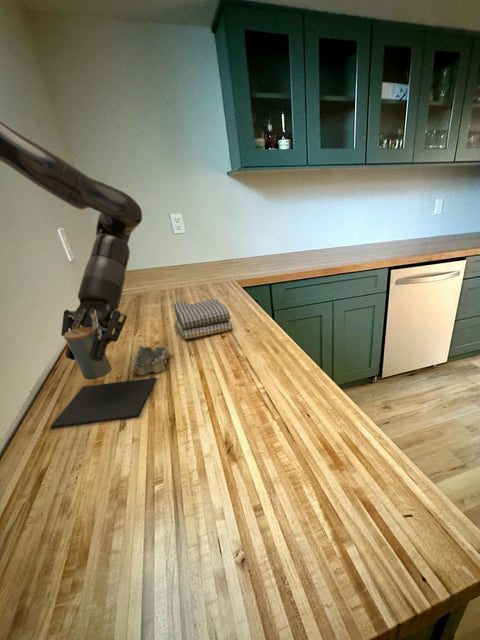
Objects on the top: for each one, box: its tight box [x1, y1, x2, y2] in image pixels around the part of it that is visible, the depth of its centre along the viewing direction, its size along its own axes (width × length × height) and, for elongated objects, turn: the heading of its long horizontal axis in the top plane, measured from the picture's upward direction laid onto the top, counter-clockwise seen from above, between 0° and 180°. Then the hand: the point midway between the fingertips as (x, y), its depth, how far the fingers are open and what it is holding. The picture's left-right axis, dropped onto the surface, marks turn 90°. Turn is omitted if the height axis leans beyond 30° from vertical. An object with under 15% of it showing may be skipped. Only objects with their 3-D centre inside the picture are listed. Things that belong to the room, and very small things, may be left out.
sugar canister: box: [63, 326, 112, 380], centre depth 69 cm, size 6×6×10 cm
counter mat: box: [50, 377, 157, 429], centre depth 74 cm, size 17×15×1 cm
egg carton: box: [132, 345, 170, 376], centre depth 87 cm, size 11×8×4 cm
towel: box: [173, 298, 232, 340], centre depth 107 cm, size 15×18×8 cm
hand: (83, 359), depth 68 cm, fingers closed on sugar canister, 5 cm apart
